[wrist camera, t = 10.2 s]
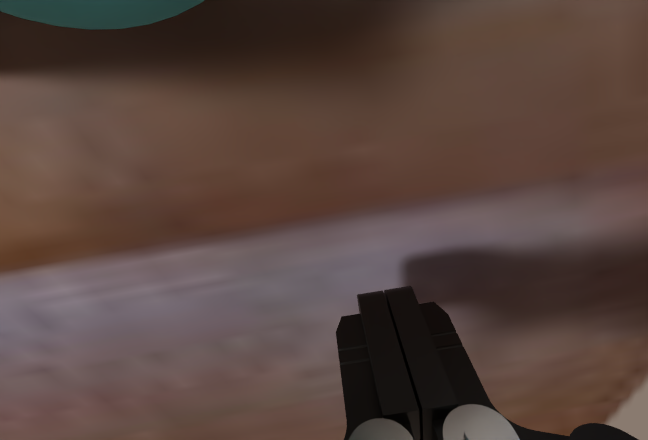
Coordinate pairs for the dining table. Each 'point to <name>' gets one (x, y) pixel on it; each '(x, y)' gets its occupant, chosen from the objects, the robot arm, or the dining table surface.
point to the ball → (96, 12)
